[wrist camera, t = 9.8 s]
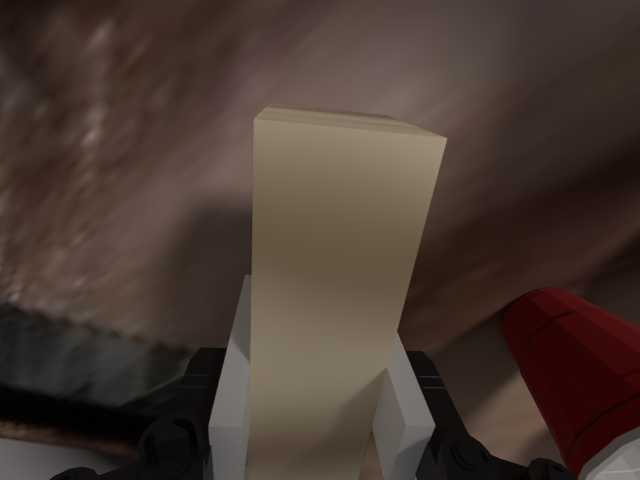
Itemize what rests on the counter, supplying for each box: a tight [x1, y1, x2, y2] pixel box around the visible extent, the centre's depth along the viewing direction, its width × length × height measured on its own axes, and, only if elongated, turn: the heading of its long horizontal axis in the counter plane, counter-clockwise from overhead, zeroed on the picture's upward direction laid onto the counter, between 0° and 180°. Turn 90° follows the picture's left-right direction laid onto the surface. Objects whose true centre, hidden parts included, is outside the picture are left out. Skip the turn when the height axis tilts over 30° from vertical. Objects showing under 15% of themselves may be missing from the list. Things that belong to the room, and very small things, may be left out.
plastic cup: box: [501, 287, 640, 480], centre depth 20 cm, size 11×11×12 cm
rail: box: [248, 103, 447, 480], centre depth 13 cm, size 21×4×5 cm, turn 174°
